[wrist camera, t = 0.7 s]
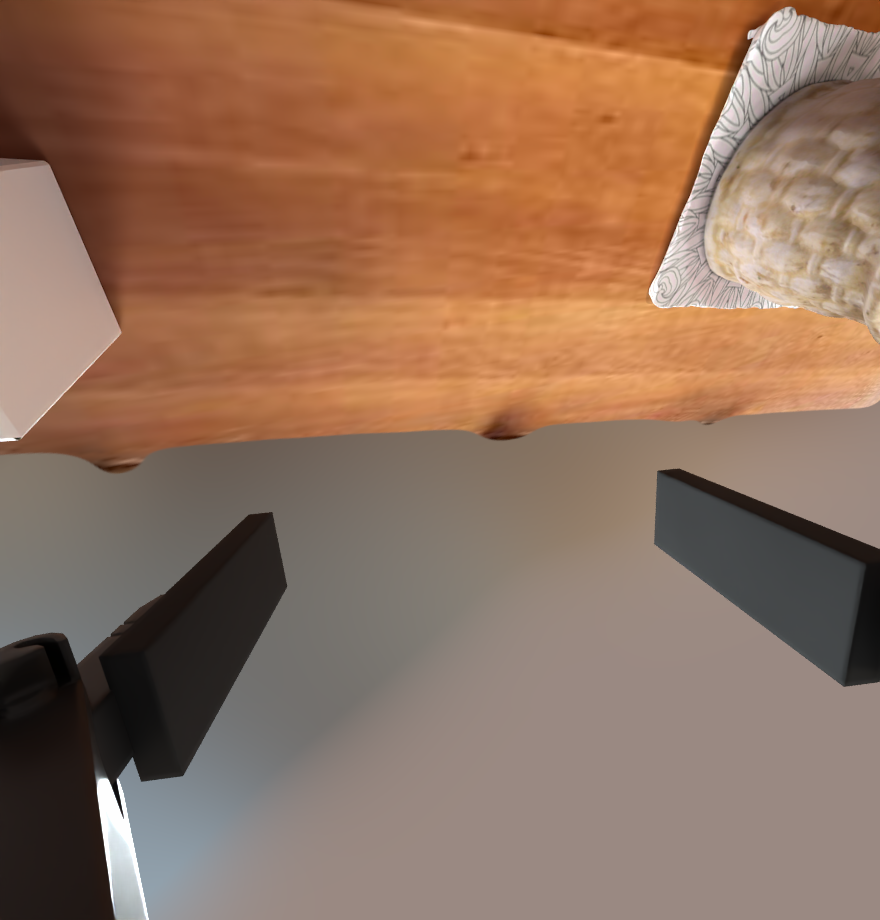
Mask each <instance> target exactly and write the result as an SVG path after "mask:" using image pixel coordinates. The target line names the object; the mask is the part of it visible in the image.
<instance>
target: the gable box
mask: <svg viewBox="0 0 880 920" xmlns="http://www.w3.org/2000/svg"><path fill="white" fill-rule="evenodd" d="M121 333H122V332H121V330H120V327H119V325H118V323H117V320H116V318H115V316H114V314H113V311H112V309H111V307H110V304H109V302H108V300H107V297H106V295H105V293H104V290H103V288H102V286H101V283H100V281H99V279H98V276H97V274H96V272H95V269H94V267H93V265H92V262H91V260H90V258H89V255H88V253H87V251H86V248H85V246H84V244H83V241H82V239H81V237H80V234H79V232H78V230H77V227H76V225H75V223H74V220H73V218H72V216H71V214H70V211H69V209H68V207H67V204H66V202H65V200H64V197H63V195H62V193H61V190H60V188H59V186H58V183H57V181H56V179H55V176H54V174H53V172H52V169H51V167H50V165H49V164H48V163H47V162H45V161H41V160H24V159H7V158H0V441H13V440H20V439H21V438H22V437H23V436H24V435H25V434H26V433H27V432H28V431H29V430H30V429H31V428H32V427H33V426H34V424H35V423H36V422H37V421H38V420H39V419H40V418H41V417H42V416H43V415H44V414H45V413H46V412H47V411H48V410H49V409H50V408H51V407H52V406H53V405H54V404H55V402H56V401H57V400H58V399H59V398H60V397H61V396H62V395H63V394H64V393H65V392H66V391H67V390H68V389H69V388H70V387H71V386H72V385H73V384H74V383H75V382H76V380H77V379H78V378H79V377H80V376H81V375H82V374H83V373H84V372H85V371H86V370H87V369H88V368H89V367H90V366H91V365H92V364H93V363H94V362H95V361H96V360H97V358H98V357H99V356H100V355H101V354H102V353H103V352H104V351H105V350H106V349H107V348H108V347H109V346H110V345H111V344H112V343H113V342H114V341H115V340H116V339H117V338H118V336H119V335H120V334H121Z"/></svg>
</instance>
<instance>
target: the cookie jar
mask: <svg viewBox="0 0 880 920" xmlns="http://www.w3.org/2000/svg"><path fill="white" fill-rule="evenodd" d="M753 37H754V38H753ZM751 38H753V40H752V43H751V45H750V47H749V50H748V52H747V54H746V57H745V59H744V61H743V63H742V66H741V68H740V70H739V73H738V75H737V77H736V80H735V82H734V84H733V86H732V88H731V91H730V94H729V96H728V99H727V101H726V103H725V106H724V108H723V110H722V113H721V115H720V117H719V120H718V122H717V124H716V126H715V128H714V130H713V132H712V134H711V137H710V140H709V143H708V146H707V148H706V150H705V153H704V155H703V158H702V161H701V165H700V169H699V172H698V175H697V178H696V181H695V184H694V186H693V189H692V192H691V194H690V197H689V199H688V201H687V203H686V206H685V208H684V210H683V212H682V214H681V217H680V220H679V222H678V225H677V227H676V230H675V233H674V235H673V238H672V240H671V242H670V245H669V248H668V251H667V253H666V255H665V257H664V260H663V262H662V264H661V267H660V269H659V271H658V273H657V275H656V277H655V279H654V281H653V283H652V285H651V287H650V288H649V295H650V296H651V299H652V302H653V303H654V304H655V305H656V306H657V307H660V308H671V307H689V306H695V307H713V308H719V309H720V308H724V309H726V308H727V309H735V308H737V307H739V308H751V307H758V308H760V309H763V308H778V307H782V306H785V307H789V308H794V309H796V308H799V307H801V308H804V309H806V310H809V311H813V312H816V313H818V314H820V315H824V316H828V317H836V318H847V319H850V320H854V321H857V322H859V323H862V324H865V325H867V327H868V329H869V331H870V333H871V334H872V336H873V338H874V339H875V341H876V342H877V343H878V344H880V32H877V33H873V32H870V33H867V32H865V31H863V30H861V31H860V30H856V29H854V28H853V27H847V26H845V25H834V24H827V23H824V22H820V21H819V20H817V19H815V18H809V17H808V16H806V15H799V16H798V15H797V14H796V10H795V8H793V7H785V8H783V9H781V10H779V11H777V12H775V13H773V14H772V15H771V17H770V18H769V19H768V20H767V22H766V23H765V24H764V25H762V26H759V27H758V28H757V29H755V30H750V31H749V33H748V39H751Z"/></svg>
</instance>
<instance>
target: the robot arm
mask: <svg viewBox="0 0 880 920" xmlns="http://www.w3.org/2000/svg"><path fill="white" fill-rule="evenodd" d="M654 544H655V545H656V546H658V547H659V548H660V549H661V550H663V551H664V552H666V553H667V554H668V555H670V556H671V557H672V558H673V559H675V560H676V561H677V562H679V563H680V564H681V565H683V566H684V567H686V568H687V569H688V570H689V571H691V572H692V573H693V574H695V575H696V576H697V577H699V578H700V579H701V580H703V581H704V582H705V583H707V584H708V585H709V586H711V587H712V588H713V589H715V590H716V591H717V592H719V593H720V594H721V595H723V596H724V597H725V598H727V599H728V600H729V601H731V602H732V603H733V604H735V605H736V606H738V607H739V608H740V609H741V610H743V611H744V612H745V613H747V614H748V615H749V616H751V617H752V618H753V619H755V620H756V621H757V622H759V623H760V624H761V625H763V626H764V627H765V628H767V629H768V630H769V631H771V632H772V633H773V634H774V635H776V636H777V637H778V638H780V639H781V640H782V641H784V642H785V643H787V644H788V645H789V646H791V647H792V648H793V649H794V650H796V651H797V652H799V653H800V654H801V655H802V656H804V657H805V658H806V659H808V660H809V661H810V662H812V663H813V664H814V665H816V666H817V667H818V668H820V669H821V670H822V671H824V672H825V673H826V674H828V675H829V676H830V677H832V678H833V679H834V680H836V681H837V682H838V683H840V684H841V685H842V686H844V687H845V686H853V685H861V684H868V683H875V682H880V549H878V548H875V547H873V546H871V545H868V544H866V543H863V542H861V541H858V540H856V539H853V538H850V537H848V536H845V535H843V534H841V533H838V532H836V531H833V530H831V529H828V528H826V527H823V526H821V525H818V524H816V523H813V522H811V521H808V520H806V519H803V518H801V517H798V516H796V515H793V514H791V513H788V512H786V511H783V510H781V509H778V508H776V507H773V506H771V505H768V504H766V503H763V502H761V501H758V500H756V499H753V498H751V497H748V496H746V495H743V494H741V493H738V492H736V491H734V490H731V489H729V488H726V487H724V486H721V485H718V484H716V483H713V482H711V481H708V480H706V479H704V478H701V477H699V476H696V475H694V474H691V473H689V472H686V471H684V470H681V469H670V470H661V471H657V492H656V516H655V540H654ZM286 588H287V583H286V578H285V573H284V568H283V563H282V558H281V553H280V548H279V543H278V538H277V534H276V529H275V523H274V518H273V513H272V512H269V513H260V514H250V515H248V516H247V517H246V518H245V519H244V520H243V521H242V522H240V523H239V524H238V525H237V526H236V527H235V528H234V529H233V530H232V531H231V532H230V533H229V534H228V535H227V536H226V537H225V538H224V539H222V540H221V541H220V542H219V543H218V544H217V545H216V546H215V547H214V548H213V549H212V550H211V551H210V552H209V553H208V554H207V555H206V556H205V557H203V558H202V559H201V560H200V561H199V562H198V563H197V564H196V565H195V566H194V567H193V568H192V569H191V570H190V571H189V572H188V573H186V574H185V576H183V577H182V578H181V579H180V580H179V581H178V582H177V583H176V584H175V585H174V586H173V587H172V588H171V589H170V590H168V591H167V592H166V594H164V595H160V596H159V597H157V598H155V599H154V600H152V601H150V602H149V603H147V604H145V605H144V606H142V607H140V608H139V609H138V610H137V611H136V612H135V613H133V614H132V615H131V616H130V617H129V618H128V619H127V620H126V621H125V622H124V625H120V626H119V627H118V628H117V629H116V630H115V631H114V632H113V633H111V637H107V638H106V639H105V640H104V641H103V642H102V643H101V644H99V645H98V646H97V647H96V648H95V649H94V650H93V651H92V652H91V653H89V654H88V655H87V656H86V657H85V658H84V659H83V660H82V661H81V662H80V663H78V664H76V661H75V658H74V656H73V653H72V651H71V648H70V645H69V642H68V639H67V638H66V637H65V635H64V634H61V633H48V634H42V635H35V636H33V637H29V638H26V639H23V640H20V641H17V642H14V643H12V644H9V645H7V646H5V647H2V648H0V920H148V915H147V910H146V905H145V900H144V895H143V890H142V885H141V881H140V876H139V870H138V865H137V861H136V855H135V850H134V846H133V840H132V836H131V831H130V826H129V821H128V816H127V811H126V806H125V801H124V796H123V792H122V789H121V786H120V783H119V781H118V777H119V775H120V774H121V772H122V771H123V770H124V768H125V767H126V765H127V764H128V763H129V761H130V760H131V758H132V757H133V759H134V762H135V765H136V768H137V771H138V773H139V777H140V779H141V781H150V780H157V779H165V778H171V777H180V776H183V775H184V773H185V771H186V770H187V768H188V766H189V764H190V762H191V761H192V759H193V757H194V755H195V753H196V751H197V750H198V748H199V746H200V744H201V742H202V741H203V739H204V737H205V735H206V733H207V732H208V730H209V728H210V726H211V724H212V722H213V721H214V719H215V717H216V715H217V713H218V712H219V710H220V708H221V706H222V704H223V702H224V701H225V699H226V697H227V695H228V693H229V691H230V690H231V688H232V686H233V684H234V682H235V681H236V679H237V677H238V675H239V673H240V672H241V670H242V668H243V666H244V664H245V662H246V661H247V659H248V657H249V655H250V653H251V652H252V650H253V648H254V646H255V644H256V642H257V641H258V639H259V637H260V635H261V633H262V632H263V630H264V628H265V626H266V624H267V622H268V621H269V619H270V617H271V615H272V613H273V611H274V610H275V608H276V606H277V604H278V602H279V601H280V599H281V597H282V595H283V593H284V592H285V590H286Z"/></svg>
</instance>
